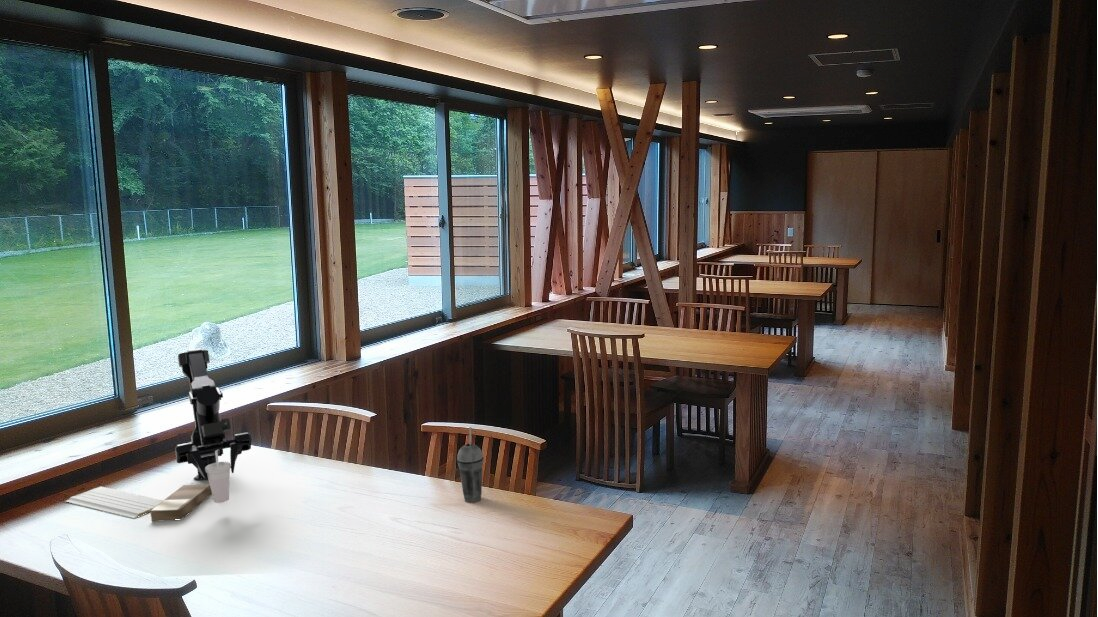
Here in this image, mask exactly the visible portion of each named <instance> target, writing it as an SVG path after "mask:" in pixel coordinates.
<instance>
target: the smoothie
mask: <svg viewBox="0 0 1098 617" xmlns="http://www.w3.org/2000/svg"><path fill="white" fill-rule="evenodd" d="M215 455H216V463H212V464H209V465H207V466H206V467H205V472H206V473H207V476H208V479H207V480H208V482H209V483H208V484H210V487H211V491H212V494H211V496H212V498H213V502H214V503H217V504H221V503H225V502H227V501H229V500H230V476H231V475H230V474H231V462H229V461H219V456H218V453H217V450H216V451H215Z"/></svg>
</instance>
